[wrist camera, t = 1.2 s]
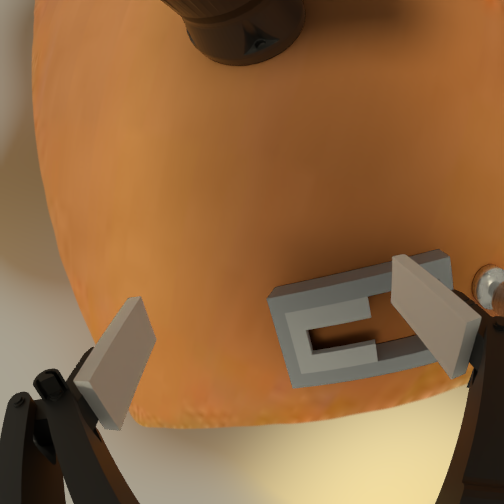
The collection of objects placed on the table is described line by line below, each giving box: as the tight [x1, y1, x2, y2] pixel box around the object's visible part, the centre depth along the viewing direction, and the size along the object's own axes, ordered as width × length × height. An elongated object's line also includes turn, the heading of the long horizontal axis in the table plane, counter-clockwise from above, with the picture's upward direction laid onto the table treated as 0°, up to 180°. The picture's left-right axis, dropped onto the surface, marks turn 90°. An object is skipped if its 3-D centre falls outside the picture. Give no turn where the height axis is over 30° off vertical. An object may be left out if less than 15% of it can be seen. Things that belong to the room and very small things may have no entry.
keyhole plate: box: [267, 249, 453, 388], centre depth 31 cm, size 20×12×4 cm, turn 107°
